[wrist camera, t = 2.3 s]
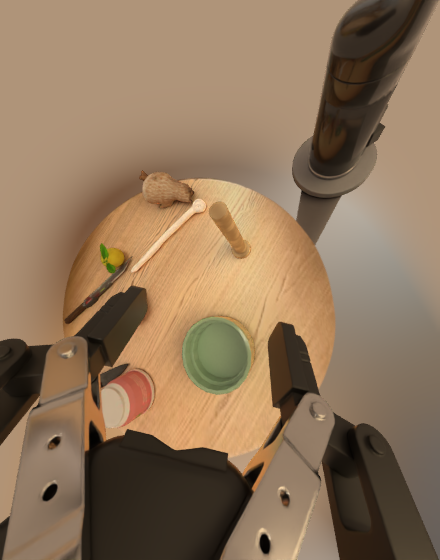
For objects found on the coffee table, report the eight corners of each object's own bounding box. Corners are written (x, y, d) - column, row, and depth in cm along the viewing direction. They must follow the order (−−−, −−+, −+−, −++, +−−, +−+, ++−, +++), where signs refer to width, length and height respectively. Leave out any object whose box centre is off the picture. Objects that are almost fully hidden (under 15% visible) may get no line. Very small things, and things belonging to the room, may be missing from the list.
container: (134, 394, 37) (159, 379, 44) (99, 372, 40) (127, 362, 48) (119, 446, 36) (147, 422, 44) (84, 420, 40) (116, 401, 47)
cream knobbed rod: (138, 280, 51) (131, 278, 48) (131, 270, 52) (123, 268, 50) (210, 208, 48) (206, 202, 46) (200, 198, 49) (196, 192, 47)
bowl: (232, 304, 42) (225, 303, 37) (268, 363, 38) (266, 372, 33) (183, 336, 44) (171, 339, 39) (212, 395, 40) (202, 407, 35)
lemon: (112, 240, 54) (95, 244, 44) (131, 250, 55) (119, 256, 46) (103, 259, 55) (84, 268, 46) (122, 268, 57) (108, 278, 47)
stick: (244, 237, 44) (222, 190, 27) (254, 251, 43) (238, 211, 26) (229, 248, 45) (198, 209, 28) (238, 262, 43) (212, 230, 26)
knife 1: (134, 255, 54) (67, 317, 57) (129, 254, 52) (61, 318, 56) (139, 262, 53) (71, 325, 57) (134, 261, 51) (65, 326, 55)
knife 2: (79, 403, 48) (74, 384, 49) (86, 399, 50) (82, 380, 51) (129, 384, 45) (123, 363, 46) (135, 380, 47) (130, 361, 48)
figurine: (157, 197, 57) (199, 208, 53) (135, 208, 50) (181, 222, 47) (151, 163, 51) (199, 174, 47) (125, 171, 44) (178, 184, 41)
